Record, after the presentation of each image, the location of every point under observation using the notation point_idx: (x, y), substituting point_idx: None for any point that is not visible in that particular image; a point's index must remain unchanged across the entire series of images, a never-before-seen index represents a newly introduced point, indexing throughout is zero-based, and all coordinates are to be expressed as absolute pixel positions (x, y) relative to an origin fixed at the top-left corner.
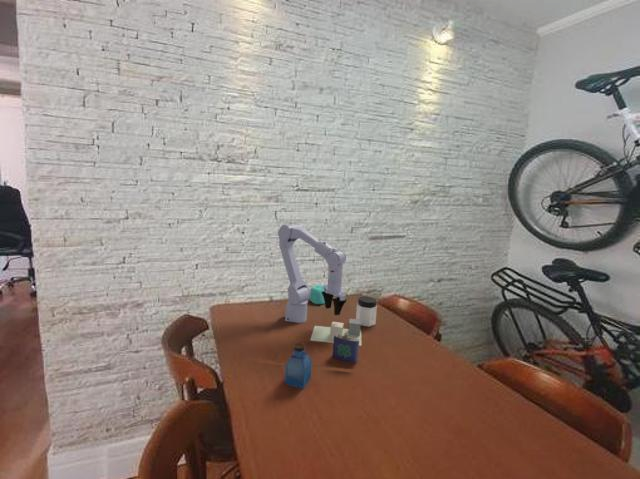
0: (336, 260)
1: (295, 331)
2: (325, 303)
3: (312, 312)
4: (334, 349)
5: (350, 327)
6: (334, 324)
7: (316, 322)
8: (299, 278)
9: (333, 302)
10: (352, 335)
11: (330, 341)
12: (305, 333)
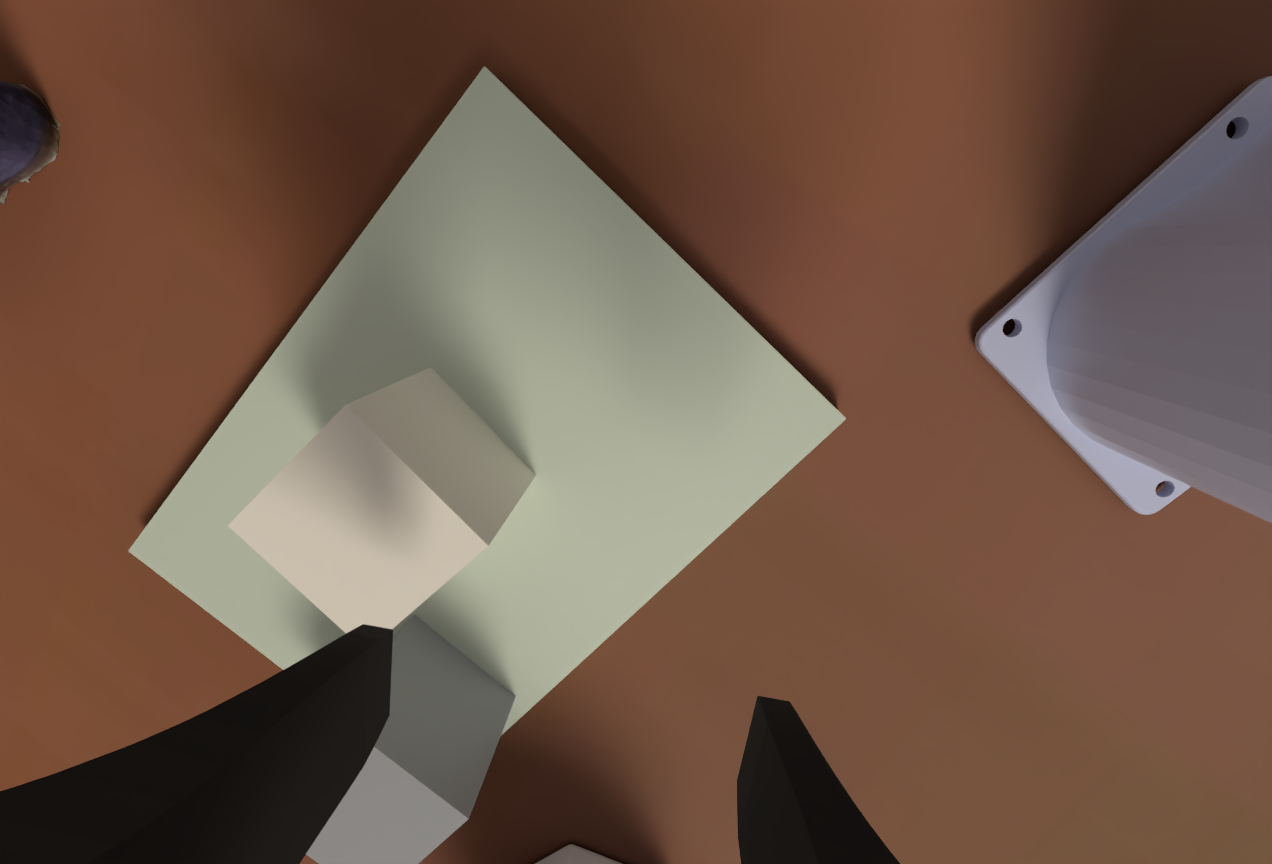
0: None
1: (910, 87)
2: (800, 775)
3: (1268, 686)
4: None
5: None
6: (376, 500)
7: (963, 535)
8: None
9: (109, 835)
10: None
11: (344, 310)
12: (768, 191)
